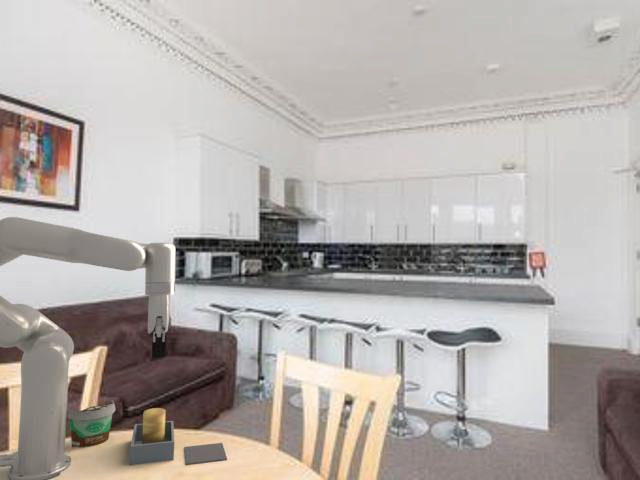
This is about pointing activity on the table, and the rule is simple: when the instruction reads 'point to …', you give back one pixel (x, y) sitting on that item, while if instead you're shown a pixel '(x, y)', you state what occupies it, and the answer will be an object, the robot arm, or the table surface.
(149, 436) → the mustard cylinder
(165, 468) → the table surface
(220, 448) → the gray square plate
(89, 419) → the food container
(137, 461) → the slate open box
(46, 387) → the robot arm
